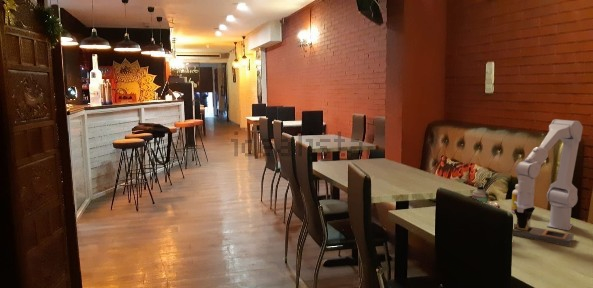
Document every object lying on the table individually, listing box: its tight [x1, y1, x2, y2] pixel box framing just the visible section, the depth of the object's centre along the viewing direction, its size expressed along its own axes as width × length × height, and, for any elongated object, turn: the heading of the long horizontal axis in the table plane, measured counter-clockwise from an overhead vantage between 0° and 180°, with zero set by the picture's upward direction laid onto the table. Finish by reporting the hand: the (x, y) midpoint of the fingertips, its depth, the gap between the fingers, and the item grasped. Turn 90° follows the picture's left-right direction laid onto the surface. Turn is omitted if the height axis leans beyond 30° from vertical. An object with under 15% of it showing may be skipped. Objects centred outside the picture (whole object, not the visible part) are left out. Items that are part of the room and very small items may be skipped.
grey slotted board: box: [512, 223, 575, 247], centre depth 174 cm, size 9×22×2 cm, turn 51°
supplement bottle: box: [510, 183, 518, 214], centre depth 205 cm, size 7×7×13 cm
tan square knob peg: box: [516, 217, 532, 232], centre depth 177 cm, size 4×4×6 cm
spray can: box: [471, 184, 489, 203], centre depth 172 cm, size 6×6×20 cm
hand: (523, 226), depth 177 cm, fingers open, 4 cm apart
